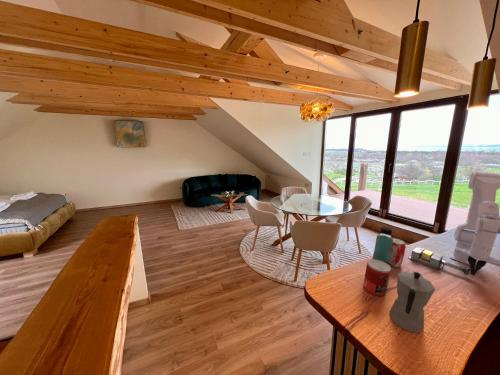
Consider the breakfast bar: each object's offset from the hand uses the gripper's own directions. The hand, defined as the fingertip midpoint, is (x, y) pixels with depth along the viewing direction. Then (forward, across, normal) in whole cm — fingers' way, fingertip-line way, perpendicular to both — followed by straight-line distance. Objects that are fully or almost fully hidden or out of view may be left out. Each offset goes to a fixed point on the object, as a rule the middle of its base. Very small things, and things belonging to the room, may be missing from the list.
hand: (472, 274), depth 91 cm
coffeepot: (+3, -9, -50) cm, 51 cm away
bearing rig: (+2, -16, 0) cm, 16 cm away
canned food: (+3, -22, -42) cm, 47 cm away
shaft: (+1, -8, 0) cm, 8 cm away
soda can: (+3, -25, -16) cm, 29 cm away
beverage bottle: (+3, -27, -26) cm, 37 cm away
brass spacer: (+2, -16, 0) cm, 16 cm away
